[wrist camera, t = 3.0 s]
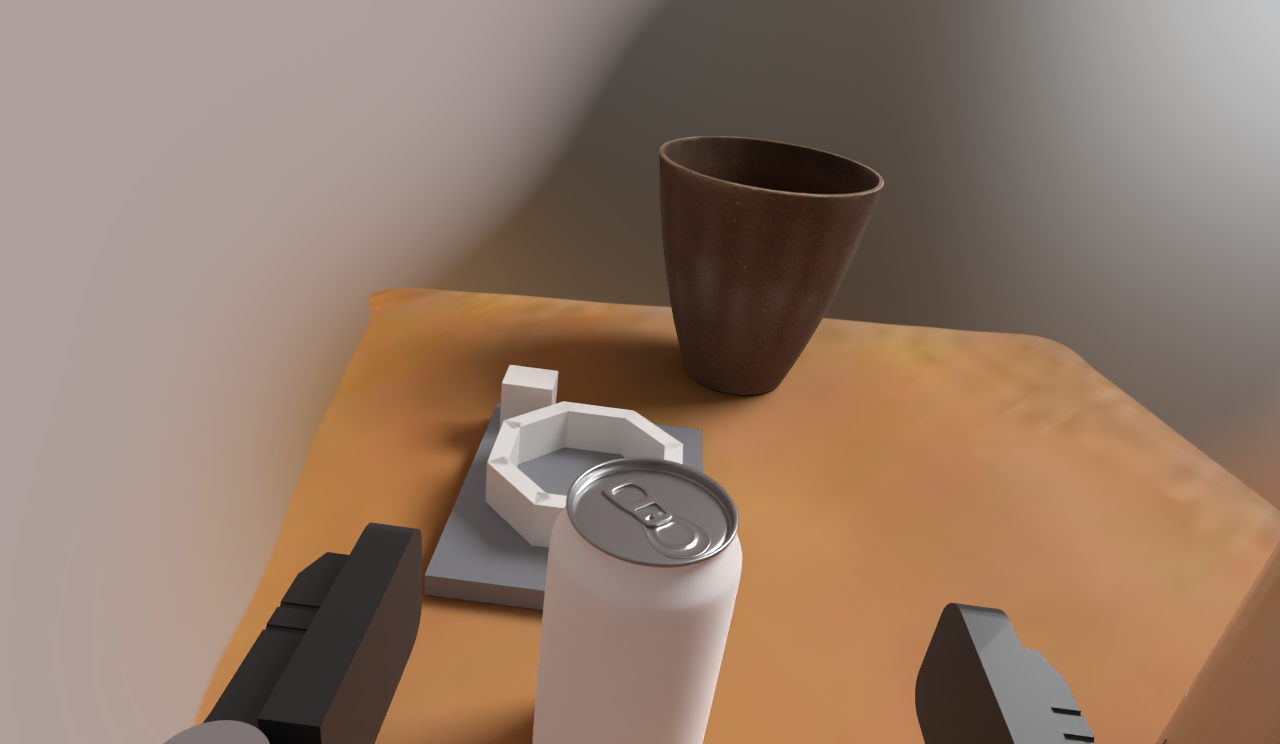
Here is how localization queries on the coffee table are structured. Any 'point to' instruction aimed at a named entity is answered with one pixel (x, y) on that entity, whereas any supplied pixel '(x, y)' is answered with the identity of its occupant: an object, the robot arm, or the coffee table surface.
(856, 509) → the coffee table surface
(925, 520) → the coffee table surface
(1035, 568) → the coffee table surface
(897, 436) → the coffee table surface
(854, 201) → the plant pot
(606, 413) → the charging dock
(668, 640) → the can
